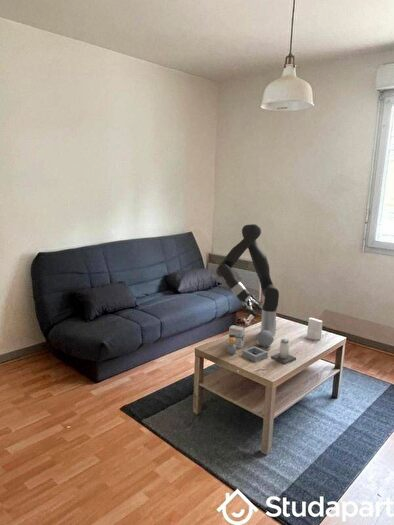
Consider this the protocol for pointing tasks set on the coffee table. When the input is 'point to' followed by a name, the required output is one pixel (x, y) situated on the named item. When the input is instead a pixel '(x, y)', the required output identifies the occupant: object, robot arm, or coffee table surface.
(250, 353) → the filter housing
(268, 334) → the decorative stone
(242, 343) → the ink box
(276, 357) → the rubber mat
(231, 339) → the plunger
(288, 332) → the coffee table surface
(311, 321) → the white upright block
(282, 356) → the cylinder
